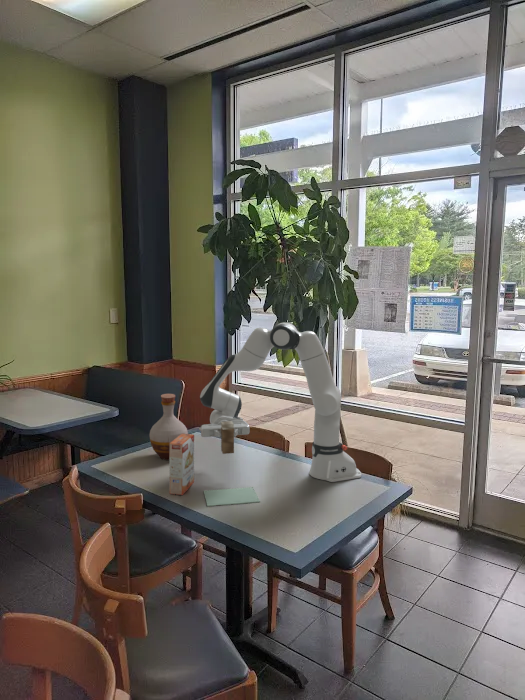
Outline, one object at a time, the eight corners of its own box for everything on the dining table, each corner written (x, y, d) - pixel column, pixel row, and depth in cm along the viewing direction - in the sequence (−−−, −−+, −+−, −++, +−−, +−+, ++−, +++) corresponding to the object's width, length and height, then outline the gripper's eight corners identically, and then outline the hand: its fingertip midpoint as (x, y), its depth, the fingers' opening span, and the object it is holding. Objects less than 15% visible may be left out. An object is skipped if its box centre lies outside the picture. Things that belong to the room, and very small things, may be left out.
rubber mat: (252, 488, 213) (252, 487, 213) (260, 502, 199) (260, 501, 199) (203, 491, 209) (203, 490, 209) (207, 506, 195) (207, 505, 195)
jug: (147, 451, 256) (146, 391, 252) (184, 448, 262) (183, 389, 258) (151, 465, 238) (150, 400, 234) (191, 461, 243) (190, 398, 239)
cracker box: (183, 496, 204) (183, 444, 202) (169, 494, 206) (168, 443, 203) (195, 482, 218) (194, 433, 215) (181, 481, 219) (180, 432, 216)
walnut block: (232, 449, 215) (231, 421, 214) (233, 453, 211) (233, 424, 209) (221, 450, 214) (221, 421, 213) (222, 453, 210) (222, 424, 208)
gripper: (198, 420, 222) (201, 429, 209) (245, 417, 226) (252, 425, 213) (198, 434, 223) (201, 444, 210) (246, 431, 227) (252, 441, 214)
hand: (227, 435), depth 211 cm, fingers closed on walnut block, 4 cm apart
